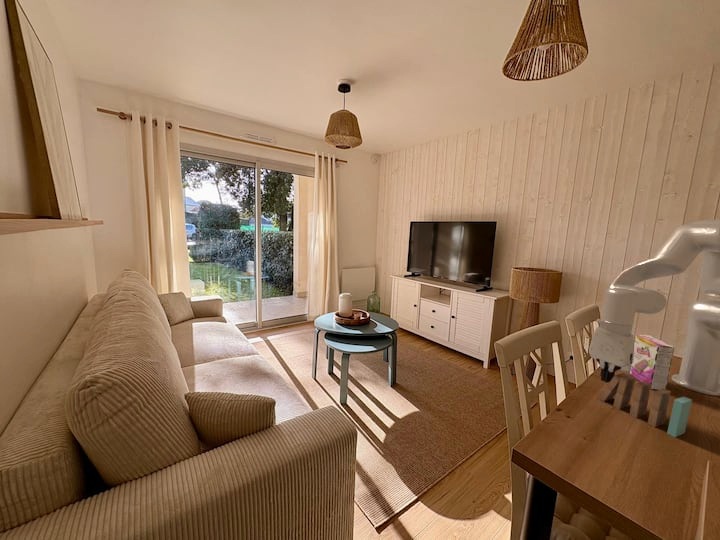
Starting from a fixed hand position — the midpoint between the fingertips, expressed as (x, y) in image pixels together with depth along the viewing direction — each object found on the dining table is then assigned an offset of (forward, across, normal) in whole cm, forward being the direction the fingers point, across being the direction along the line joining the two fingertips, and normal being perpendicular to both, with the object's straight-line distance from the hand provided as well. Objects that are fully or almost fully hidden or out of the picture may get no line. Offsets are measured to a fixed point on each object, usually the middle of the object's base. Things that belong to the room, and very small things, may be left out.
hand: (606, 380), depth 94 cm
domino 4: (+6, +13, 0) cm, 14 cm away
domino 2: (+6, +5, 0) cm, 8 cm away
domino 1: (+6, +1, 0) cm, 6 cm away
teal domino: (+6, +17, 0) cm, 18 cm away
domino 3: (+6, +9, 0) cm, 11 cm away
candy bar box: (+6, -1, +27) cm, 28 cm away
